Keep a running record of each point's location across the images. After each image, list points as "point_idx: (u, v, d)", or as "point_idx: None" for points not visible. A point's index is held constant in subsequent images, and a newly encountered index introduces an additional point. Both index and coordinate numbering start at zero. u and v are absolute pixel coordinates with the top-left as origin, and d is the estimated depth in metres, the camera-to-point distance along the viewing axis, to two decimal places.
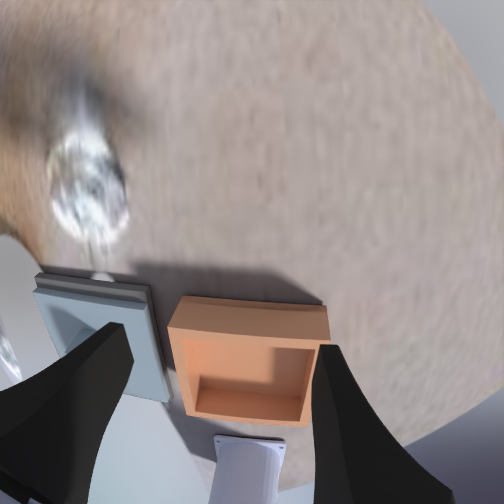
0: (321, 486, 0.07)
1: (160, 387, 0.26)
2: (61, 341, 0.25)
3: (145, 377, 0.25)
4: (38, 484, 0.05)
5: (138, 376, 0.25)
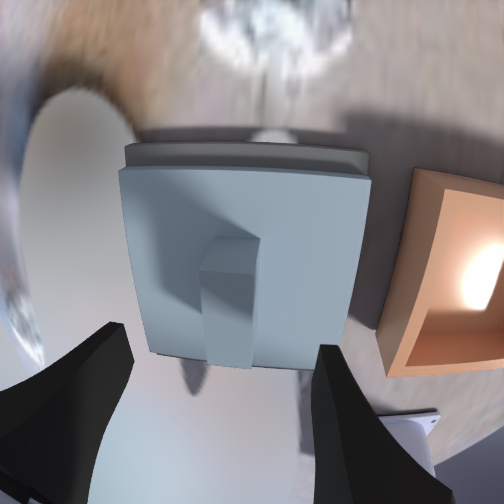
0: (321, 486, 0.07)
1: (336, 341, 0.16)
2: (155, 273, 0.16)
3: (316, 325, 0.16)
4: (38, 484, 0.05)
5: (303, 325, 0.16)
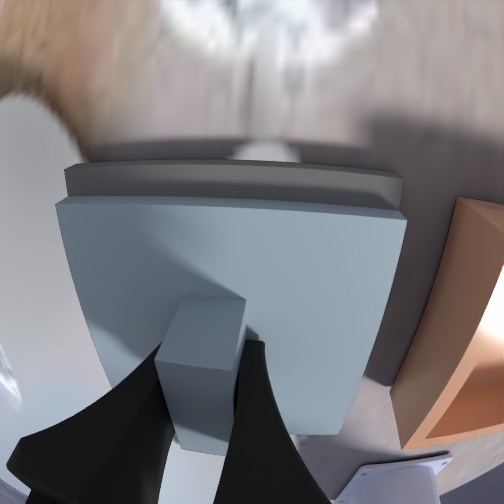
0: None
1: (343, 410, 0.12)
2: (114, 332, 0.12)
3: (319, 395, 0.12)
4: None
5: (304, 395, 0.12)
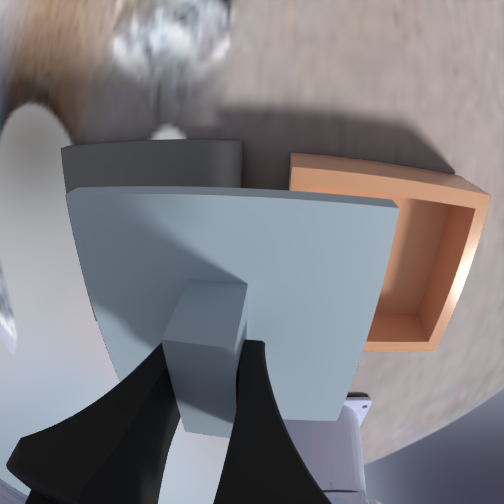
0: None
1: (342, 395, 0.13)
2: (120, 318, 0.12)
3: (318, 379, 0.13)
4: None
5: (303, 379, 0.13)
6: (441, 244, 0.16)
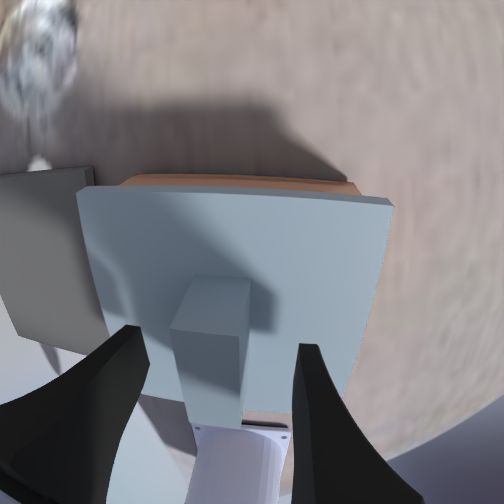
0: (296, 486, 0.07)
1: (341, 388, 0.14)
2: (127, 313, 0.13)
3: None
4: (58, 494, 0.05)
5: None
6: None
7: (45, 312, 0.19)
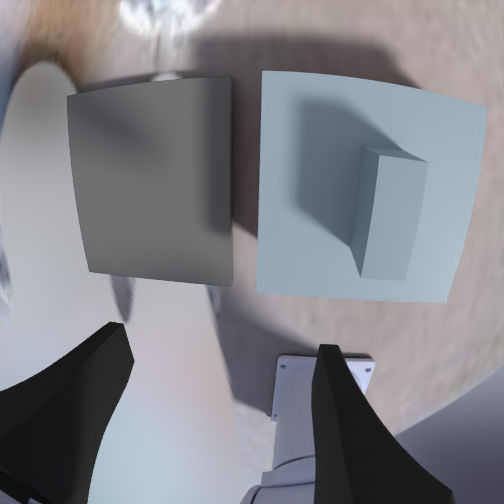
0: (321, 486, 0.07)
1: (453, 268, 0.15)
2: (287, 187, 0.14)
3: (440, 248, 0.15)
4: (38, 484, 0.05)
5: (429, 247, 0.15)
6: None
7: (139, 233, 0.20)
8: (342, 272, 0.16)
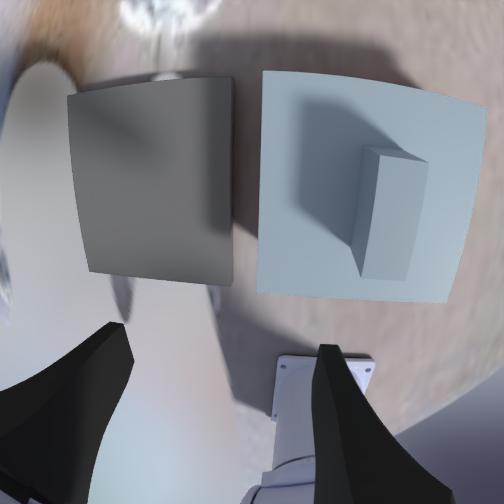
0: (321, 486, 0.07)
1: (454, 268, 0.15)
2: (288, 187, 0.14)
3: (440, 248, 0.15)
4: (38, 484, 0.05)
5: (430, 247, 0.15)
6: None
7: (140, 233, 0.20)
8: (342, 272, 0.16)
